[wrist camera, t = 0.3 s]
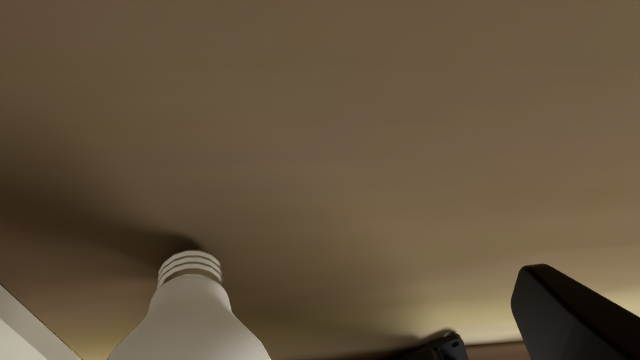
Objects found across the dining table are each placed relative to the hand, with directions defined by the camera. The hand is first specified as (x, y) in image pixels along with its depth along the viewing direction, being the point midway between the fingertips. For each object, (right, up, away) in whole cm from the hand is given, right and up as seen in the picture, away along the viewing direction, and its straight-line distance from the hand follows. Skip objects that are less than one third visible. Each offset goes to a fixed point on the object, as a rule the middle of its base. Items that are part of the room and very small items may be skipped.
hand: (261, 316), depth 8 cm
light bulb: (-5, -2, +17) cm, 18 cm away
